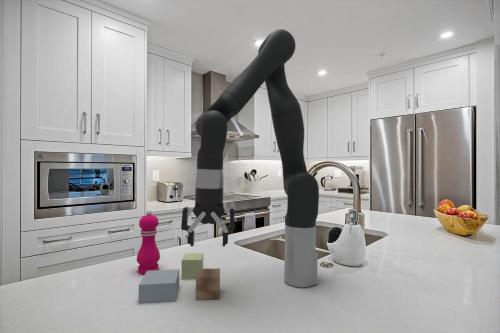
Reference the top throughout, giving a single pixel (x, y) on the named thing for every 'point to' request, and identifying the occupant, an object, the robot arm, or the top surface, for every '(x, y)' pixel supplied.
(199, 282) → the walnut block
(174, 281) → the slate base block
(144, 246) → the pepper mill
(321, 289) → the top surface
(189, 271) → the olive block
